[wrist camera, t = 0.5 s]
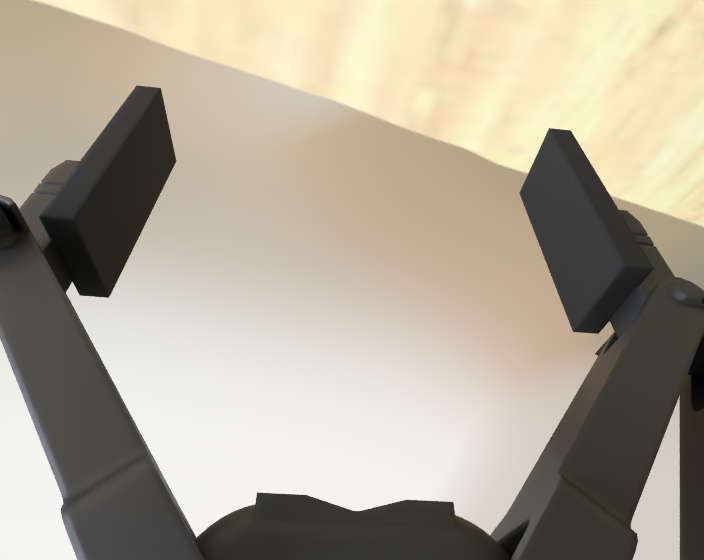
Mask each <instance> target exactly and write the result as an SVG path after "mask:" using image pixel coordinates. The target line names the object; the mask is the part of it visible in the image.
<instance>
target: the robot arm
mask: <svg viewBox="0 0 704 560" xmlns="http://www.w3.org/2000/svg"><path fill="white" fill-rule="evenodd" d="M175 163H176V158H175V153H174V149H173V144H172V139H171V134H170V129H169V125H168V120H167V115H166V111H165V106H164V101H163V97H162V92H161V88H154V87H144V86H136V87H135V89H134V90H133V91H132V93H131V94H130V95H129V97H128V98H127V99H126V101H125V102H124V103H123V105H122V106H121V107H120V109H119V110H118V111H117V113H116V114H115V115H114V117H113V118H112V119H111V121H110V122H109V123H108V125H107V126H106V128H105V129H104V130H103V132H102V133H101V134H100V135H99V137H98V138H97V139H96V141H95V142H94V143H93V145H92V146H91V147H90V149H89V150H88V151H87V153H86V154H85V155H84V157H83V158H82V159H81V161H71V160H66V161H64V162H63V163H61V164H60V165H58V166H56V167H55V168H53V169H51V170H50V172H49V173H48V174H47V175H46V176H45V178H44V179H43V180H42V184H39V185H38V186H37V188H36V189H35V190H34V193H32V194H31V195H30V196H29V197H28V199H27V200H26V201H25V202H24V204H23V205H22V206H21V208H20V209H18V207H17V205H16V203H15V202H14V201H13V200H12V199H10V198H8V197H5V196H2V195H0V339H1V341H2V344H3V346H4V349H5V352H6V354H7V357H8V359H9V362H10V364H11V367H12V369H13V372H14V374H15V377H16V380H17V382H18V384H19V387H20V390H21V392H22V394H23V397H24V400H25V402H26V405H27V408H28V410H29V412H30V415H31V418H32V420H33V423H34V425H35V428H36V430H37V433H38V435H39V438H40V441H41V443H42V446H43V448H44V451H45V453H46V456H47V458H48V461H49V464H50V466H51V469H52V471H53V474H54V476H55V479H56V481H57V484H58V486H59V489H60V492H61V494H62V497H63V503H64V504H63V505H62V507H61V514H62V518H63V522H64V525H65V528H66V531H67V533H68V536H69V539H70V541H71V544H72V546H73V549H74V552H75V554H76V557H77V559H78V560H632V559H633V556H634V554H635V550H636V546H637V542H638V539H637V533H635V532H634V531H633V530H632V529H631V525H630V524H631V520H632V517H633V515H634V512H635V510H636V507H637V504H638V502H639V499H640V497H641V494H642V491H643V489H644V486H645V483H646V481H647V478H648V476H649V473H650V471H651V468H652V465H653V463H654V460H655V458H656V455H657V452H658V450H659V447H660V445H661V442H662V439H663V437H664V434H665V432H666V429H667V426H668V424H669V421H670V418H671V416H672V413H673V411H674V408H675V406H676V403H677V400H678V398H679V395H680V560H704V291H703V290H702V289H701V288H699V287H698V286H697V285H695V284H694V283H692V282H690V281H687V280H684V279H682V278H678V277H675V276H674V275H673V273H672V272H671V270H670V269H669V267H668V265H667V264H666V262H665V261H664V259H663V258H662V256H661V254H660V253H659V251H658V250H657V248H656V247H655V246H653V245H654V243H653V242H652V240H651V239H650V237H648V236H647V232H646V231H645V229H644V228H643V226H642V225H641V223H640V222H639V221H638V220H637V219H636V218H635V217H633V216H632V215H631V214H630V213H629V212H628V211H624V210H618V208H617V206H616V205H615V203H614V201H613V200H612V198H611V196H610V195H609V193H608V192H607V190H606V188H605V187H604V185H603V183H602V182H601V180H600V178H599V177H598V175H597V173H596V172H595V170H594V168H593V167H592V165H591V163H590V162H589V160H588V159H587V157H586V155H585V154H584V152H583V150H582V149H581V147H580V145H579V144H578V142H577V140H576V139H575V137H574V135H573V134H572V132H571V131H570V130H560V129H550V128H549V130H548V132H547V134H546V137H545V139H544V141H543V143H542V145H541V147H540V150H539V152H538V154H537V156H536V158H535V161H534V163H533V165H532V167H531V169H530V171H529V174H528V176H527V178H526V180H525V182H524V185H523V187H522V189H521V191H520V196H521V198H522V201H523V203H524V206H525V209H526V211H527V214H528V216H529V219H530V221H531V224H532V227H533V229H534V232H535V234H536V237H537V240H538V242H539V245H540V247H541V250H542V252H543V255H544V258H545V260H546V263H547V265H548V268H549V270H550V273H551V276H552V278H553V281H554V283H555V286H556V288H557V291H558V294H559V296H560V299H561V302H562V304H563V307H564V309H565V312H566V314H567V317H568V320H569V322H570V325H571V327H572V330H573V332H583V333H597V334H598V333H599V332H600V331H601V330H602V329H603V328H604V327H605V325H606V324H607V323H608V322H609V321H610V322H611V324H612V327H613V329H614V331H615V332H614V333H613V334H612V335H611V337H610V338H609V339H608V340H607V341H606V342H605V343H604V344H603V346H602V347H601V348H600V349H599V350H598V351H597V352H596V355H598V358H597V359H596V361H595V363H594V365H593V366H592V368H591V370H590V372H589V373H588V375H587V377H586V378H585V380H584V382H583V383H582V385H581V387H580V389H579V391H578V392H577V394H576V396H575V397H574V399H573V401H572V402H571V404H570V406H569V408H568V410H567V411H566V413H565V414H564V417H563V418H562V420H561V421H560V423H559V425H558V427H557V429H556V430H555V432H554V433H553V435H552V437H551V439H550V440H549V442H548V444H547V445H546V447H545V449H544V451H543V452H542V454H541V456H540V458H539V460H538V461H537V463H536V464H535V466H534V468H533V470H532V471H531V473H530V475H529V477H528V478H527V480H526V482H525V483H524V485H523V487H522V489H521V491H520V492H519V494H518V496H517V497H516V499H515V501H514V502H513V504H512V506H511V508H510V509H509V511H508V513H507V514H506V515H505V517H504V518H503V520H502V521H501V522H500V523H499V525H498V526H497V527H496V528H495V530H494V531H493V533H492V534H491V536H490V535H488V534H487V533H486V532H485V531H483V530H482V529H481V528H479V527H477V526H476V525H474V524H473V523H471V522H469V521H467V520H465V519H463V518H461V517H458V516H456V515H455V512H454V504H453V502H439V501H418V500H404V501H400V502H396V503H392V504H388V505H384V506H380V507H375V508H372V509H367V510H363V511H352V510H349V509H346V508H343V507H340V506H337V505H334V504H331V503H328V502H325V501H322V500H319V499H316V498H313V497H310V496H307V495H293V494H291V495H290V494H272V493H271V494H270V493H257V498H256V504H255V505H252V506H248V507H244V508H242V509H239V510H237V511H234V512H232V513H230V514H228V515H226V516H224V517H223V518H221V519H219V520H218V521H216V522H215V523H214V524H212V525H211V526H209V527H208V528H207V529H206V530H205V531H204V532H203V533H201V534H200V535H199V536H198V537H197V538H196V536H195V534H194V532H193V531H192V529H191V527H190V525H189V523H188V521H187V519H186V518H185V516H184V514H183V512H182V510H181V508H180V507H179V505H178V503H177V501H176V499H175V497H174V496H173V494H172V492H171V490H170V488H169V486H168V484H167V483H166V481H165V479H164V477H163V475H162V473H161V471H160V470H159V467H158V465H157V464H156V462H155V460H154V458H153V456H152V454H151V453H150V450H149V449H148V447H147V445H146V443H145V441H144V439H143V437H142V435H141V434H140V432H139V430H138V428H137V426H136V424H135V422H134V420H133V418H132V417H131V415H130V413H129V411H128V409H127V407H126V405H125V403H124V402H123V400H122V398H121V396H120V394H119V392H118V391H117V388H116V387H115V385H114V383H113V381H112V379H111V377H110V375H109V374H108V371H107V370H106V368H105V366H104V364H103V362H102V360H101V358H100V356H99V355H98V353H97V351H96V349H95V347H94V345H93V343H92V341H91V340H90V338H89V336H88V334H87V332H86V330H85V329H84V326H83V324H82V323H81V321H80V319H79V317H78V315H77V313H76V311H75V310H74V308H73V306H72V304H71V302H70V300H69V298H68V296H67V295H66V291H67V289H68V288H69V286H70V284H71V283H72V281H73V283H74V285H75V287H76V289H77V291H78V293H79V294H80V295H82V296H96V297H109V296H110V294H111V292H112V290H113V288H114V286H115V284H116V282H117V280H118V278H119V276H120V274H121V272H122V270H123V268H124V266H125V264H126V262H127V260H128V258H129V256H130V254H131V252H132V250H133V248H134V246H135V244H136V242H137V240H138V238H139V236H140V234H141V232H142V229H143V228H144V225H145V223H146V221H147V219H148V217H149V215H150V213H151V211H152V209H153V207H154V205H155V203H156V201H157V199H158V197H159V195H160V193H161V191H162V189H163V186H164V185H165V183H166V181H167V179H168V177H169V175H170V173H171V171H172V169H173V167H174V164H175Z"/></svg>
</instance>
